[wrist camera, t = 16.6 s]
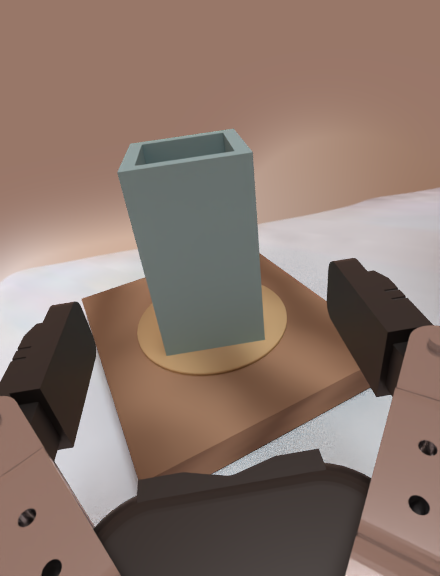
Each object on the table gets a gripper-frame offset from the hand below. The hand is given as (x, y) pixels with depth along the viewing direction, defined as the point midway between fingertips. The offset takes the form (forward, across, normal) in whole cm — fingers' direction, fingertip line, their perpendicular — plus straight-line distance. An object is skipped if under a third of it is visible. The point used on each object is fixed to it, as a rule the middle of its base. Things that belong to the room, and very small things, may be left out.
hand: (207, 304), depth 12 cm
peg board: (+10, 0, +10) cm, 15 cm away
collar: (+10, 0, +8) cm, 13 cm away
